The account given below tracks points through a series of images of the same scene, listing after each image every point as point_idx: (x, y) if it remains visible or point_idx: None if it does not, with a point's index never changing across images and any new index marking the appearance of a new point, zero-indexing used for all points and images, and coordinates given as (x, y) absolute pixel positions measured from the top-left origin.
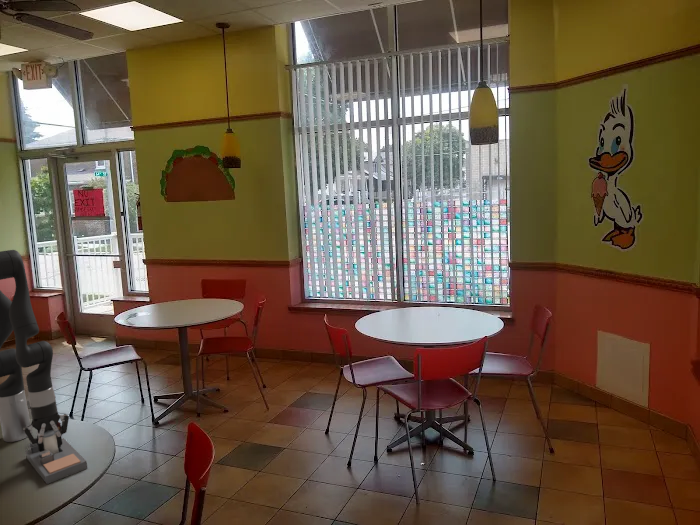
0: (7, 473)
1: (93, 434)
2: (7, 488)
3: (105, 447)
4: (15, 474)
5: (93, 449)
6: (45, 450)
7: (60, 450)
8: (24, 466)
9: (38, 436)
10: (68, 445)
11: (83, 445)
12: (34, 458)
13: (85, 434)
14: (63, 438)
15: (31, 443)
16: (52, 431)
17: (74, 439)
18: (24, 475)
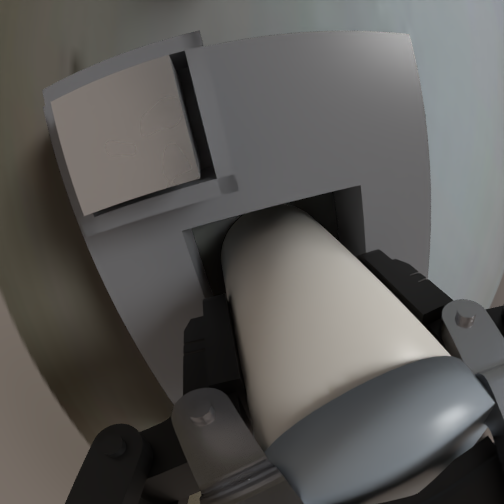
0: (11, 302)
1: (500, 59)
2: (85, 432)
3: (492, 277)
4: (61, 343)
5: (467, 268)
6: None
7: (353, 235)
8: (80, 265)
9: (223, 476)
10: (420, 242)
11: (459, 171)
12: (152, 337)
13: (472, 14)
14: (409, 41)
15: (71, 146)
16: (419, 489)
17: (427, 19)
18: (119, 381)
